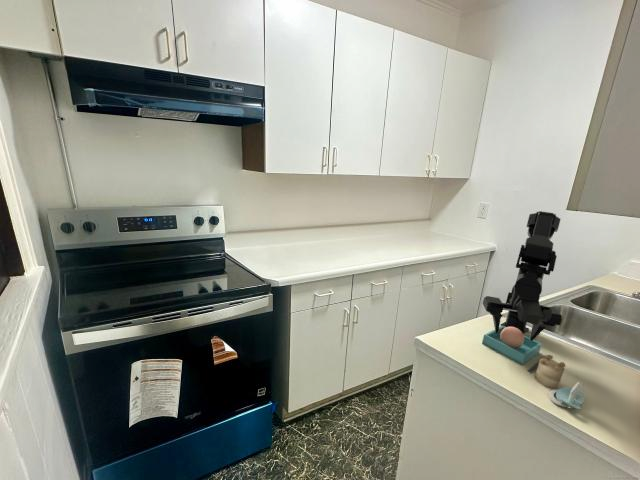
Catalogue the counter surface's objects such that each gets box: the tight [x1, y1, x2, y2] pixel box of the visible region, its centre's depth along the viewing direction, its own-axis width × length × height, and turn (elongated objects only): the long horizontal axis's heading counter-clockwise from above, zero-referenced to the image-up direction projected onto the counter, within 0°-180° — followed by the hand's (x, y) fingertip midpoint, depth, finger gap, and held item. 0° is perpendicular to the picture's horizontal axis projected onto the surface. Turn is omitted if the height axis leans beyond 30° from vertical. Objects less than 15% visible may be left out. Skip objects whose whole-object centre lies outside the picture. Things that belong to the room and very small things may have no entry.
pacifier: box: [548, 381, 585, 411], centre depth 73 cm, size 7×6×6 cm
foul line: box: [527, 354, 553, 374], centre depth 87 cm, size 14×1×1 cm, turn 125°
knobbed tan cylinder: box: [534, 354, 566, 389], centre depth 79 cm, size 5×5×6 cm
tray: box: [481, 325, 543, 366], centre depth 93 cm, size 11×11×3 cm
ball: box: [500, 327, 525, 348], centre depth 92 cm, size 6×6×6 cm
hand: (513, 336), depth 92 cm, fingers open, 9 cm apart
